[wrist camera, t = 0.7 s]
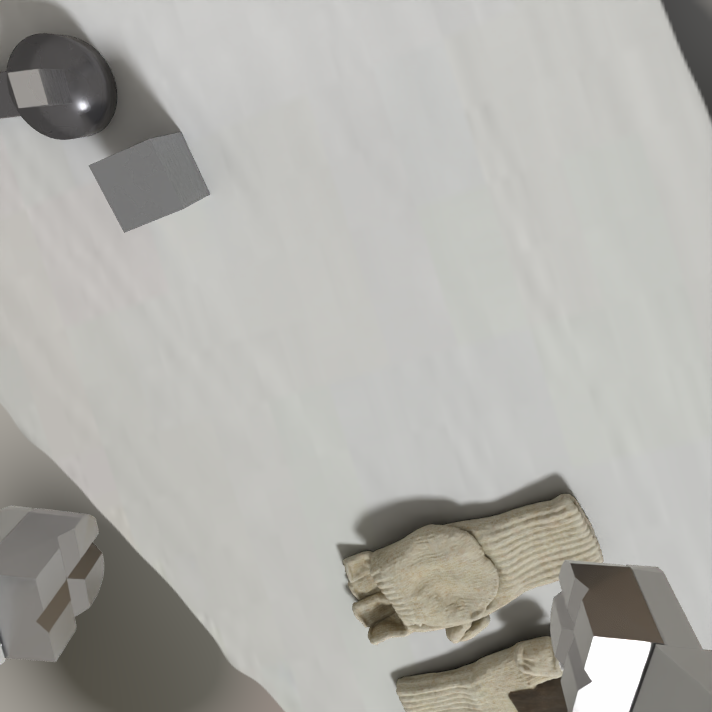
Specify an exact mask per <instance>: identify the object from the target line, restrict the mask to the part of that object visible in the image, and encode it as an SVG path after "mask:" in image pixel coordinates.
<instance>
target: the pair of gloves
mask: <svg viewBox="0 0 712 712" xmlns="http://www.w3.org/2000/svg"><path fill="white" fill-rule="evenodd" d="M565 560H574V561H585V562H597V563H603V561H604V560H603V556H602V551H601V549H600V545H599V543H598V541H597V538H596V536H595V532H594V529H593V528H592V526H591V523H590V521H589V520H588V518H587V517H586V516H585V514H584V512H583V510H582V509H581V507H580V505H579V504H578V502H577V500H576V499H575V498H574V497H573V496H571V495H570V494H561V495H559V496H557V497H556V498H554V499H553V500H550V501H544V502H538V503H535V504H531V505H526V506H523V507H521V508H516V509H513V510H510V511H507V512H504V513H502V514H499V515H495V516H490V517H487V518H480V519H472V520H466V521H460V522H454V523H449V524H445V525H434V524H429V525H426V526H423V527H421V528H419V529H417V530H416V531H414V532H412V533H411V534H409V535H407V536H406V537H405V538H403V539H401V540H400V541H398V542H395V543H393V544H391V545H388V546H386V547H384V548H381V549H378V550H376V551H375V552H371V551H365V552H361V553H358V554H356V555H353V556H350V557H347V558H345V559H343V561H342V562H343V565H344V566H345V572H346V574H347V576H348V579H349V582H348V587H349V588H350V590H351V592H352V594H353V595H354V596H355V597H356V598H357V599H358V602H356V603H353V606H352V610H353V612H354V615H355V617H356V618H357V619H358V620H359V621H360V622H361V623H362V624H363V625H364V626H365V627H370V628H369V631H368V638H369V640H370V642H371V643H372V644H374V645H378V643H381V642H383V641H385V640H386V639H389V638H393V637H405V636H407V635H409V634H411V633H413V632H427V631H435V630H440V629H444V628H445V629H446V635H447V637H448V639H449V640H450V641H452V642H453V643H454V644H456V643H458V642H460V641H467V640H470V639H472V638H473V637H474V636H476V635H477V634H478V633H479V632H481V631H482V630H483V629H485V628H486V627H487V626H488V624H489V622H490V617H489V614H491V613H492V612H494V611H496V610H498V609H500V608H501V607H503V606H505V605H507V604H508V603H509V602H510V601H512V600H514V599H516V598H517V597H518V596H520V595H521V594H523V593H524V592H525V591H528V590H530V589H533V588H535V587H538V586H543V585H546V584H549V583H553V582H555V581H558V580H559V578H558V577H559V573H560V569H561V566H562V564H563V562H564V561H565ZM563 670H564V666H563V665H562V664H561V663H560V662H559V661H558V660H557V659H556V657H555V656H554V651H553V647H552V641H551V637H549V636H543V637H538V638H534V639H530V640H525V641H521V642H517V643H516V644H515V645H514V646H512V647H510V648H508V649H504V650H502V651H499V652H497V653H494V654H491V655H488V656H485V657H483V658H481V659H479V660H478V661H476V662H474V663H472V664H469V665H465V666H462V667H460V668H458V669H455V670H449V671H445V672H439V673H427V674H420V675H414V676H405V677H403V678H400V679H398V681H397V683H396V686H397V689H396V692H397V694H398V696H399V699H400V701H401V703H402V705H403V707H404V710H405V711H406V712H568V710H567V705H566V701H565V697H564V693H563V689H562V685H561V678H562V674H563Z"/></svg>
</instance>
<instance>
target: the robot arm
mask: <svg viewBox="0 0 712 712" xmlns="http://www.w3.org/2000/svg"><path fill="white" fill-rule="evenodd" d="M98 533H99V531H98V526H97V522H96V518H95V517H93V516H91V515H89V514H81V513H72V512H65V511H57V510H48V509H40V508H37V509H34V508H27V507H19V506H8V507H5V508H3V509H1V510H0V665H1V664H2V663H3V662H4V661H5V658H12V659H25V660H36V661H49V662H56V661H57V659H58V658H59V656H60V654H61V653H62V651H63V650H64V648H65V646H66V645H67V643H68V641H69V640H70V638H71V637H72V635H73V634H74V632H75V631H76V622H75V616H77V615H78V614H80V613H82V612H83V611H85V610H87V609H88V608H90V606H91V604H92V603H93V601H94V599H95V598H96V596H97V595H98V592H99V589H100V586H101V583H102V579H103V574H104V560H103V553H102V552H101V551H100V550H99V549H98V547H97V546H96V545H95V544H94V543H93V541H94V539H95V538H96V536H97V535H98ZM558 578H559V582H560V585H561V589H562V591H561V592H560V593H559V594H558V595H556V596H555V597H554V598H553V603H552V608H551V617H550V633H551V641H552V647H553V651H554V656H555V657H556V659H557V660H558V661H559V662H560V663H561V664H562V665H563V666H564V670H563V674H562V678H561V685H562V689H563V693H564V697H565V701H566V705H567V710H568V712H712V650H704V649H702V647H701V645H700V643H699V641H698V639H697V637H696V635H695V633H694V631H693V629H692V627H691V625H690V623H689V621H688V619H687V617H686V615H685V613H684V611H683V609H682V607H681V605H680V604H679V602H678V600H677V598H676V596H675V594H674V592H673V590H672V588H671V586H670V584H669V582H668V580H667V578H666V576H665V574H664V572H663V571H662V570H661V569H659V568H658V567H651V566H638V565H626V566H625V565H619V564H608V563H597V562H585V561H574V560H565V561H564V562H563V564H562V566H561V569H560V573H559V577H558Z"/></svg>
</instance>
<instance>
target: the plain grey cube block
mask: <svg viewBox="0 0 712 712" xmlns="http://www.w3.org/2000/svg"><path fill="white" fill-rule="evenodd" d="M89 167H90V169H91V171H92V173H93V175H94V176H95V178H96V180H97V182H98V184H99V186H100V188H101V190H102V192H103V193H104V195H105V197H106V199H107V201H108V203H109V205H110V207H111V209H112V210H113V212H114V214H115V216H116V218H117V220H118V222H119V224H120V226H121V227H122V229H123V231H124V233H125V232H127V231H130V230H132V229H135V228H137V227H139V226H142V225H144V224H147V223H149V222H152V221H154V220H157V219H159V218H162V217H164V216H167V215H169V214H172V213H174V212H177V211H179V210H182V209H184V208H186V207H188V206H190V205H191V204H193V203H195V202H197V201H199V200H201V199H202V198H204V197H206V196H208V195H210V193H209V191H208V189H207V186H206V184H205V182H204V180H203V178H202V176H201V174H200V171H199V169H198V167H197V165H196V163H195V161H194V158H193V156H192V154H191V152H190V150H189V148H188V146H187V143H186V141H185V139H184V137H183V135H182V133H181V132H178V133H174V134H169V135H164V136H160V137H155V138H150V139H148V140H146V141H143V142H141V143H139V144H136V145H134V146H132V147H130V148H127V149H125V150H123V151H121V152H118V153H116V154H114V155H112V156H109V157H107V158H105V159H102V160H100V161H98V162H96V163H93V164H91V165H89Z"/></svg>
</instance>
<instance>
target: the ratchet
mask: <svg viewBox="0 0 712 712" xmlns="http://www.w3.org/2000/svg"><path fill="white" fill-rule="evenodd" d="M116 103H117V89H116V84H115V80H114V77H113V74H112V72H111V69H110V68H109V66H108V64H107V62H106V61H105V60H104V58H103V57H102V56H101V55H100V53H99V52H98V51H97V50H95V49H94V48H93V47H92V46H91V45H89V44H88V43H86V42H84V41H82V40H80V39H77V38H74V37H70V36H63V35H55V34H46V33H44V34H35V35H32V36H29V37H27V38H25V39H24V40H22V41H21V42H20V43H19V44H18V45H17V46H16V47H15V49H14V50H13V52H12V54H11V56H10V58H9V61H8V66H7V71H6V72H0V118H9V117H17V116H21V117H22V118H23V119H24V120H25V121H26V122H27V123H28V124H29V125H30V126H31V127H32V128H33V129H35V130H36V131H38V132H39V133H41V134H43V135H45V136H48V137H50V138H54V139H61V140H67V139H74V138H80V137H86V136H91V135H94V134H96V133H98V132H100V131H101V130H102V129H104V128H105V127H106V126H107V125H108V123H109V122H110V120H111V119H112V117H113V115H114V112H115V109H116Z"/></svg>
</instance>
